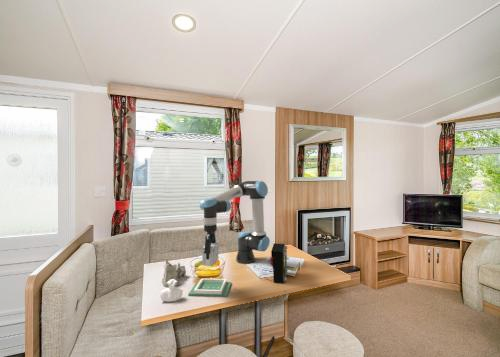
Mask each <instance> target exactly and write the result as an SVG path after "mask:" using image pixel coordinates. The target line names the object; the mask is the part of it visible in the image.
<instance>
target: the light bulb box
mask: <svg viewBox="0 0 500 357" xmlns="http://www.w3.org/2000/svg"><path fill="white" fill-rule="evenodd" d="M201 248H202V249H201V250H202V251H201V252H202V253H201V254H202V256H201V257H202V266H204V267H205V266H206V267H214V265H215V264H216V263H217V262H218V261H219V242H216V243H211V247H210V253H211V264H210V265H206V254H204V251H205V245H204V246H203V247H201Z"/></svg>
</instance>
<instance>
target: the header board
mask: <svg viewBox="0 0 500 357" xmlns="http://www.w3.org/2000/svg"><path fill="white" fill-rule="evenodd" d="M231 285H232V281H227V279H226V278H215V277H213V278H201V279H200V280H197V281H196V282H195V284H194V285H193V286H192V288H191V290H190V291H189V292H188V296H190V297H215V298H216V297H219V298H223V297H224V298H227V296H228V294H229V292H230V289H231Z"/></svg>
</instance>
